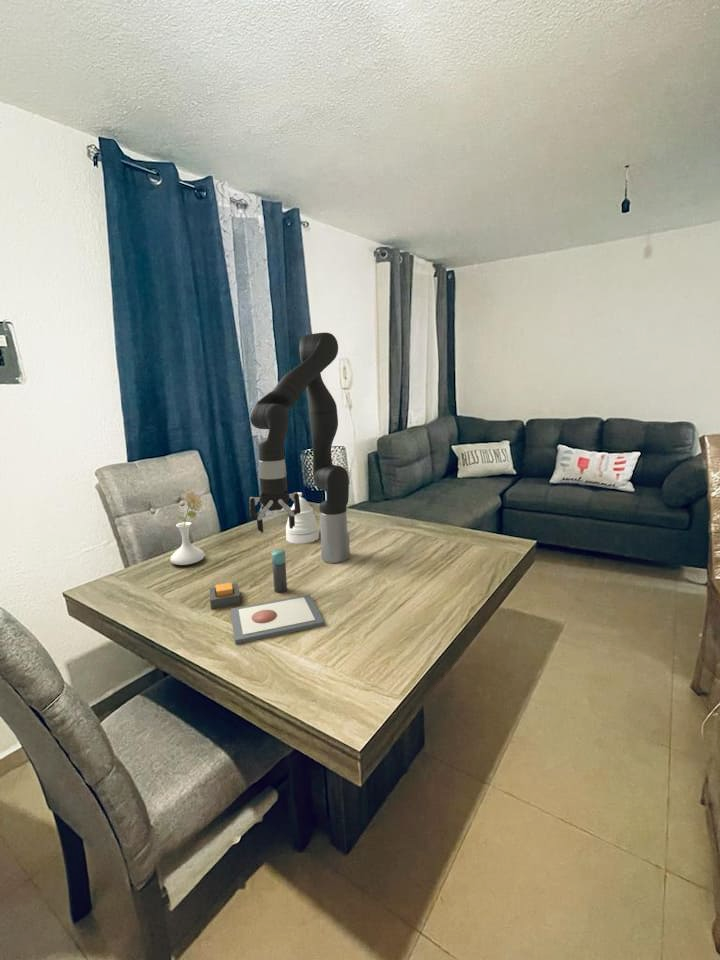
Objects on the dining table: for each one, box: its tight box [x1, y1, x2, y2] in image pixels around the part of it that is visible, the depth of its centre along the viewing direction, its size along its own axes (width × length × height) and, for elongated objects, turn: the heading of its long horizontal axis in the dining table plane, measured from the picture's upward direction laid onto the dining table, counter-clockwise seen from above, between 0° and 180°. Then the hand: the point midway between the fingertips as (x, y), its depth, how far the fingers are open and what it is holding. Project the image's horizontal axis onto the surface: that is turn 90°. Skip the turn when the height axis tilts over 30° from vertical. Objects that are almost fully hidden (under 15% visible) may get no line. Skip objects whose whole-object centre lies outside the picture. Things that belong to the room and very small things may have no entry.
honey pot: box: [285, 491, 320, 545], centre depth 174 cm, size 13×13×18 cm
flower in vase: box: [169, 490, 206, 566], centre depth 153 cm, size 13×11×25 cm
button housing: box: [209, 582, 242, 610], centre depth 127 cm, size 8×8×3 cm
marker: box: [270, 549, 288, 594], centre depth 131 cm, size 4×4×12 cm
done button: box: [215, 582, 233, 597], centre depth 127 cm, size 4×4×2 cm
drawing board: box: [230, 594, 325, 645], centre depth 116 cm, size 22×16×1 cm
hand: (276, 529), depth 128 cm, fingers open, 8 cm apart
